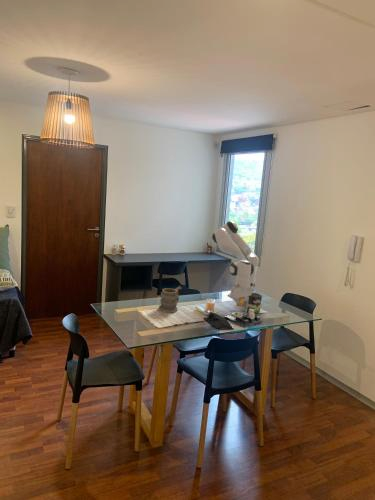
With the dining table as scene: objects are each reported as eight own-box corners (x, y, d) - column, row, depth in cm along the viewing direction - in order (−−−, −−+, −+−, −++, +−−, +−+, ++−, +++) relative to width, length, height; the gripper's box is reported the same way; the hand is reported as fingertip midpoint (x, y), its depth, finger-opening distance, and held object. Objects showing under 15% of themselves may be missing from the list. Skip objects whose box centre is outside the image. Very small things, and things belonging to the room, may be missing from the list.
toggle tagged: (248, 317, 247) (249, 312, 246) (250, 316, 248) (251, 312, 248) (252, 318, 244) (252, 314, 244) (254, 318, 246) (254, 313, 246)
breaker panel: (224, 319, 251) (224, 313, 250) (242, 314, 265) (242, 308, 264) (243, 327, 239) (244, 321, 238) (261, 322, 253) (262, 316, 252)
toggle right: (248, 313, 255) (249, 309, 254) (250, 312, 256) (251, 308, 256) (251, 314, 253) (252, 310, 252) (254, 314, 254) (254, 310, 254)
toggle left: (236, 316, 246) (237, 312, 245) (238, 316, 247) (239, 311, 247) (240, 318, 243) (240, 313, 243) (242, 317, 245) (242, 313, 245)
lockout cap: (239, 307, 250) (241, 298, 249) (235, 305, 253) (236, 296, 252) (243, 306, 253) (245, 297, 252) (239, 304, 256) (240, 296, 255)
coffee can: (262, 315, 266) (264, 297, 264) (250, 316, 262) (252, 297, 260) (254, 310, 276) (257, 292, 273) (242, 311, 272) (245, 292, 269)
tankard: (169, 314, 250) (171, 293, 247) (155, 308, 257) (157, 288, 254) (186, 308, 265) (188, 288, 263) (173, 303, 273) (175, 283, 270)
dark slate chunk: (213, 331, 229) (214, 324, 229) (202, 318, 250) (203, 311, 249) (236, 330, 234) (237, 323, 233) (223, 317, 255) (224, 311, 254)
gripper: (236, 286, 241) (233, 306, 243) (255, 283, 255) (252, 302, 257) (229, 284, 245) (226, 303, 248) (247, 281, 259) (245, 299, 262)
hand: (239, 303), depth 253 cm, fingers closed on lockout cap, 4 cm apart
